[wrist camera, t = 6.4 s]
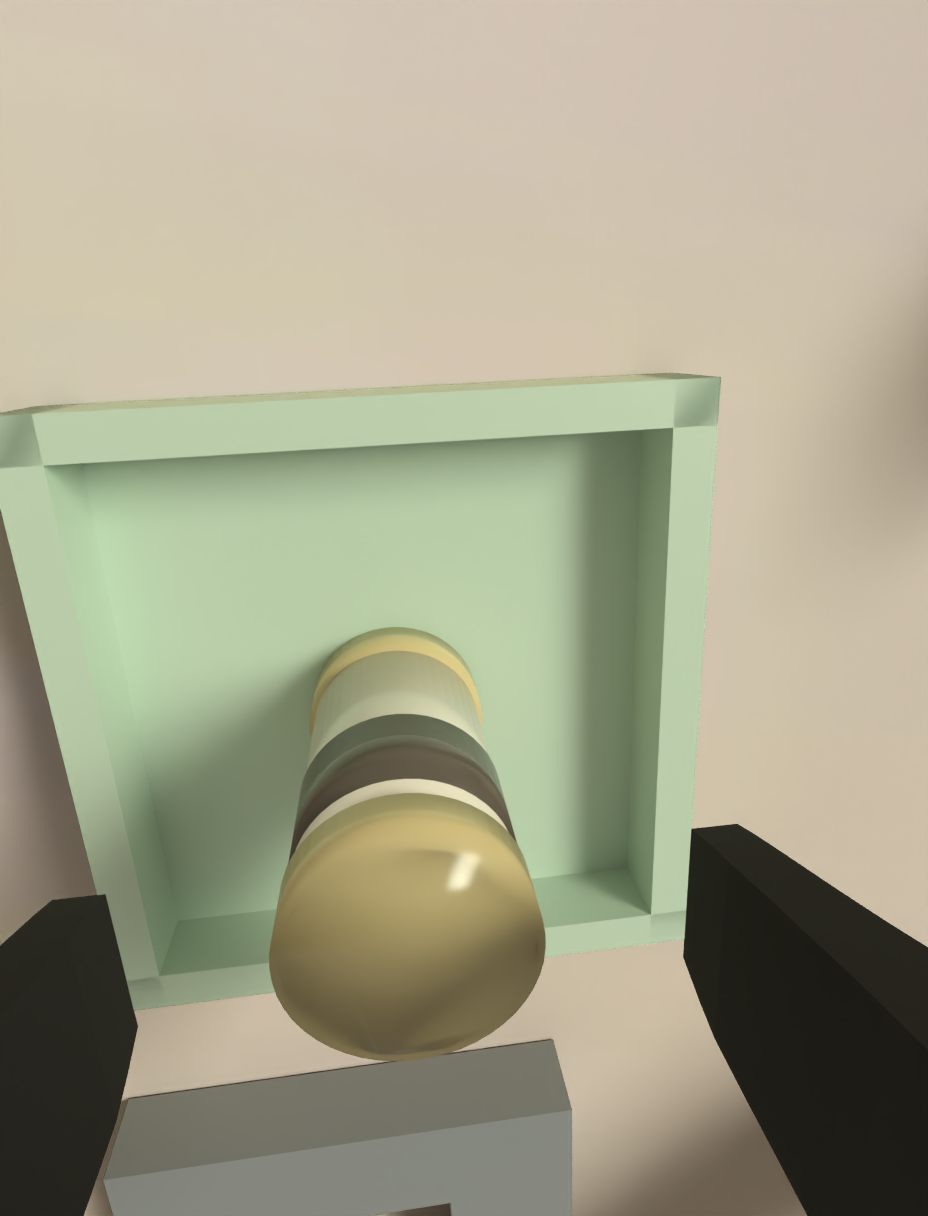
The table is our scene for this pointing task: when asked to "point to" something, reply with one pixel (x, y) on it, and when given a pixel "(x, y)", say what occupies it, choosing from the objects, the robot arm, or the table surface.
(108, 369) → the table surface
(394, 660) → the banded cream cylinder
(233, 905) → the parts tray
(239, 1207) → the fuse block
